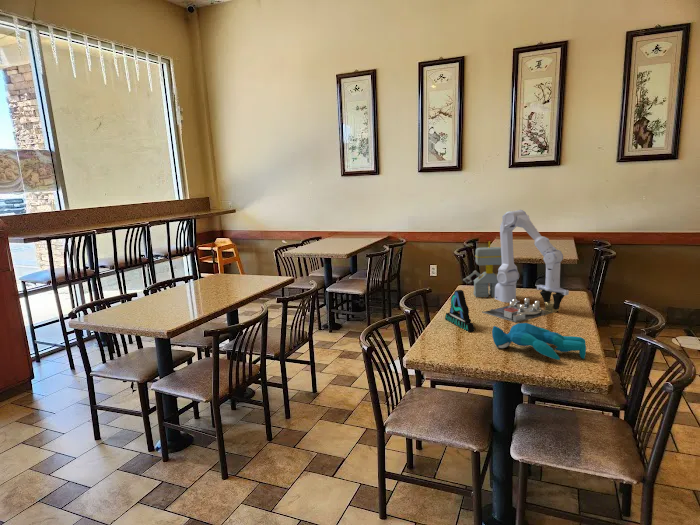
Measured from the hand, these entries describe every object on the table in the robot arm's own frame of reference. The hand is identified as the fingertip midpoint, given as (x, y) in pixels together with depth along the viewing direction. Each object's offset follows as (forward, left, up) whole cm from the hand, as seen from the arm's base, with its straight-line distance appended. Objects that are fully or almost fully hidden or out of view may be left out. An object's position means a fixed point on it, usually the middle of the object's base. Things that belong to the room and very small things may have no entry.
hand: (551, 308), depth 202 cm
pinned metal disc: (-5, -11, -1) cm, 12 cm away
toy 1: (-36, -1, -2) cm, 36 cm away
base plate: (-6, -15, -1) cm, 16 cm away
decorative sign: (-10, -45, -2) cm, 46 cm away
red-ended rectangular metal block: (-2, -23, -1) cm, 24 cm away
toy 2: (+27, -43, -2) cm, 51 cm away
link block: (0, 0, -1) cm, 1 cm away
